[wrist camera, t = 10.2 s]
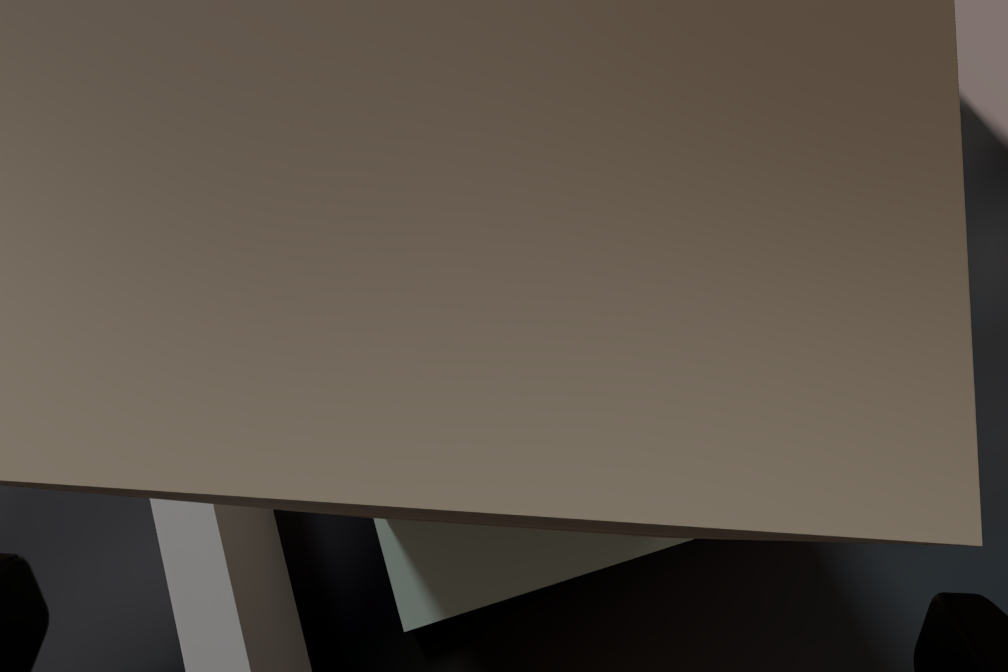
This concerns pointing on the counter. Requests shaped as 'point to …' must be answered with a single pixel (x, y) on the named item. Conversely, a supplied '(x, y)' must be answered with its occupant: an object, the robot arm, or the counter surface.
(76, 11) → the beech block
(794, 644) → the counter surface
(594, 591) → the counter surface
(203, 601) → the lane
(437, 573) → the pad
